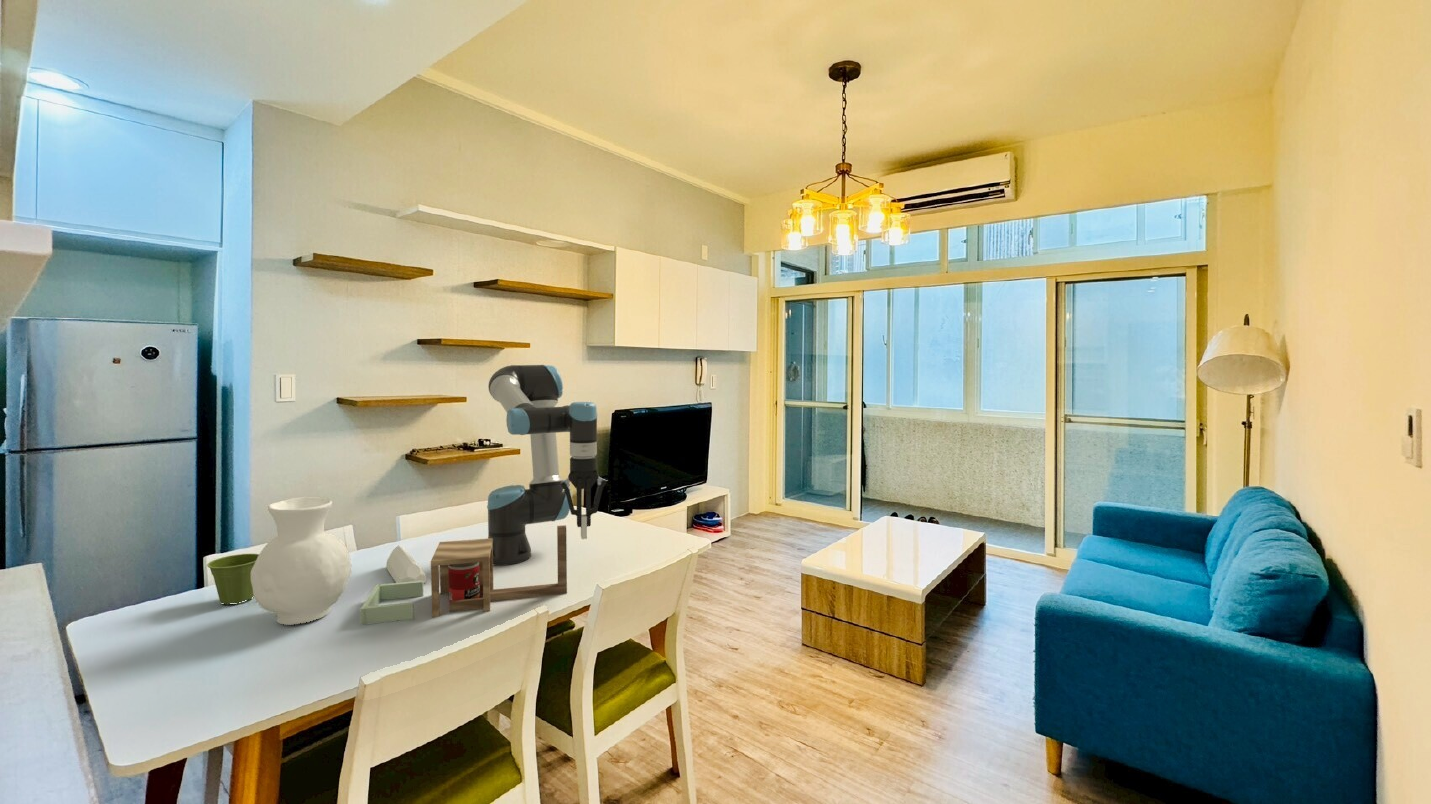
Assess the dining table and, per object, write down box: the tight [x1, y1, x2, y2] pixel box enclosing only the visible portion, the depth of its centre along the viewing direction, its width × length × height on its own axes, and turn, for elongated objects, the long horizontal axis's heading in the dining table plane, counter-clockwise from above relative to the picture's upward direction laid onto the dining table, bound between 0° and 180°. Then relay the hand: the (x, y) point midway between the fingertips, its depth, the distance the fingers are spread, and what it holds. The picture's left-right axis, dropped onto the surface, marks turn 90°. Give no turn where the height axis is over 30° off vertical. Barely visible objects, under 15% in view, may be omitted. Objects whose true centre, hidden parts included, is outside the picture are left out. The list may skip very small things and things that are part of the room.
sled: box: [449, 525, 568, 613], centre depth 169 cm, size 12×30×19 cm, turn 107°
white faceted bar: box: [385, 545, 428, 585], centre depth 184 cm, size 7×7×24 cm
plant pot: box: [206, 553, 260, 605], centre depth 165 cm, size 12×12×11 cm
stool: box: [430, 537, 494, 618], centre depth 166 cm, size 16×14×15 cm
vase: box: [251, 496, 352, 626], centre depth 154 cm, size 19×21×30 cm
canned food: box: [448, 562, 481, 603], centre depth 166 cm, size 8×8×11 cm
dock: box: [359, 581, 425, 625], centre depth 161 cm, size 16×12×4 cm
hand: (583, 537), depth 174 cm, fingers closed
